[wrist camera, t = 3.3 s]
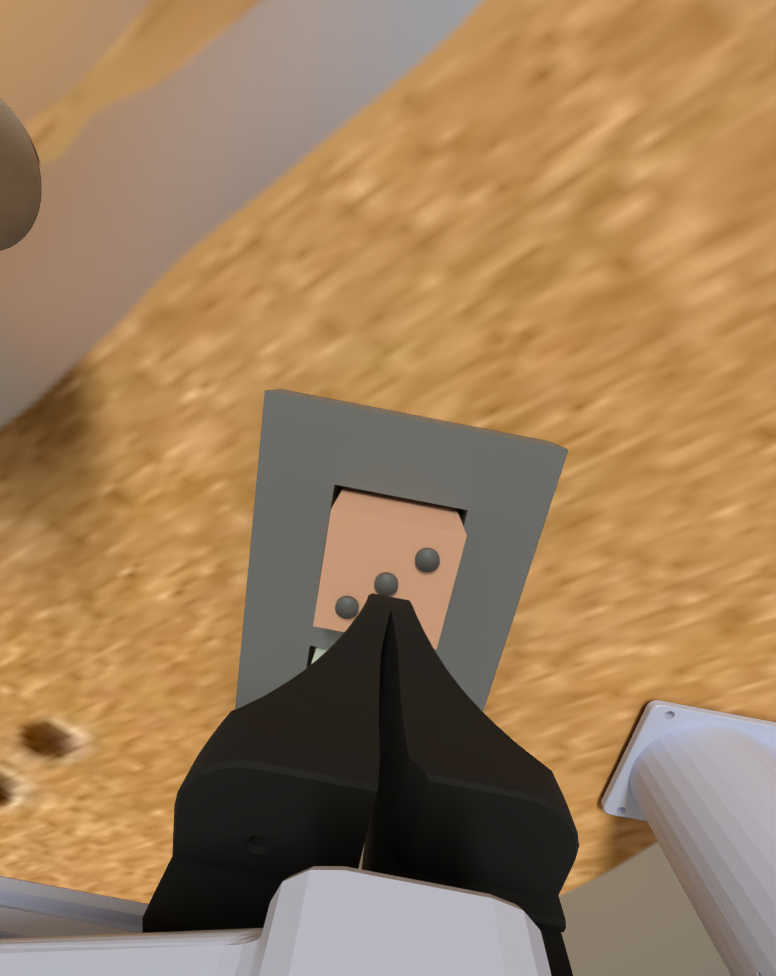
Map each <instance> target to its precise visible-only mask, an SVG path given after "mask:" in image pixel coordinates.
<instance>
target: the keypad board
mask: <svg viewBox="0 0 776 976" xmlns="http://www.w3.org/2000/svg"><path fill="white" fill-rule="evenodd" d="M567 452H568V449H566V448H564V447H561V446H559V445H557V444H554V443H552V442H550V441H545V440H539V439H534V438H529V437H524V436H519V435H514V434H509V433H504V432H498V431H493V430H488V429H483V428H478V427H473V426H468V425H462V424H457V423H452V422H447V421H442V420H437V419H432V418H427V417H421V416H416V415H411V414H406V413H401V412H396V411H391V410H385V409H380V408H375V407H370V406H365V405H360V404H355V403H349V402H344V401H339V400H334V399H329V398H324V397H319V396H314V395H308V394H303V393H298V392H293V391H288V390H283V389H278V390H266V391H265V396H264V407H263V417H262V428H261V439H260V450H259V460H258V471H257V482H256V493H255V503H254V514H253V525H252V536H251V546H250V557H249V568H248V579H247V589H246V600H245V611H244V622H243V632H242V643H241V654H240V665H239V675H238V686H237V697H236V707H235V709H238V708H240V707H242V706H244V705H246V704H248V703H250V702H253V701H255V700H257V699H259V698H261V697H263V696H265V695H266V694H268V693H270V692H272V691H273V690H275V689H276V688H278V687H280V686H281V685H283V684H284V683H286V682H288V681H289V680H291V679H292V678H294V677H295V676H297V675H298V674H299V673H301V672H302V671H303V670H305V669H306V668H307V667H308V666H310V665H311V663H312V660H313V654H314V648H315V647H320V648H325V649H329V648H330V647H331V646H332V645H333V644H334V643H335V642H336V641H337V640H338V639H339V638H340V637H341V635H342V634H343V633H344V632H341V631H336V630H331V629H325V628H320V627H315V626H313V623H314V616H315V610H316V603H317V597H318V590H319V584H320V577H321V571H322V564H323V558H324V551H325V545H326V538H327V532H328V525H329V519H330V512H331V508H332V507H333V505H334V503H335V501H336V500H337V498H338V496H339V490H340V486H345V487H350V488H355V489H361V490H366V491H371V492H376V493H381V494H386V495H392V496H397V497H402V498H407V499H412V500H418V501H423V502H428V503H433V504H438V505H444V506H449V507H454V508H458V510H457V511H458V514H459V517H460V519H461V522H462V524H463V527H464V529H465V532H466V534H467V537H466V541H465V545H464V548H463V552H462V556H461V560H460V563H459V567H458V571H457V575H456V578H455V582H454V586H453V590H452V593H451V597H450V601H449V605H448V608H447V612H446V616H445V620H444V623H443V627H442V631H441V635H440V638H439V642H438V646H437V649H434V650H435V651H436V653H437V655H438V656H439V658H440V659H441V661H442V663H443V664H444V666H445V667H446V669H447V670H448V672H449V673H450V674H451V676H452V677H453V678H454V679H455V681H456V682H457V683H458V685H459V686H460V687H461V688H462V690H463V691H464V692H465V693H466V694H467V695H468V697H469V698H470V699H471V700H472V701H473V702H474V703H475V704H476V705H477V706H478V707H479V708H480V710H481V711H482V712H483V710H484V707H485V704H486V701H487V698H488V695H489V692H490V688H491V685H492V682H493V679H494V676H495V673H496V670H497V667H498V664H499V661H500V658H501V655H502V652H503V649H504V646H505V642H506V639H507V636H508V633H509V630H510V627H511V624H512V621H513V618H514V615H515V612H516V609H517V606H518V603H519V600H520V596H521V593H522V590H523V587H524V584H525V581H526V578H527V575H528V572H529V569H530V566H531V563H532V560H533V557H534V554H535V550H536V547H537V544H538V541H539V538H540V535H541V532H542V529H543V526H544V523H545V520H546V517H547V514H548V511H549V508H550V504H551V501H552V498H553V495H554V492H555V489H556V486H557V483H558V480H559V477H560V474H561V471H562V468H563V465H564V462H565V458H566V455H567Z"/></svg>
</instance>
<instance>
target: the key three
mask: <svg viewBox="0 0 776 976" xmlns="http://www.w3.org/2000/svg"><path fill="white" fill-rule="evenodd" d="M466 537H467V534H466V532H465V529H464V527H463V524H462V522H461V519H460V517H459V514H458V511H457V509H456V508H454V507H449V506H444V505H438V504H433V503H428V502H423V501H418V500H412V499H407V498H402V497H397V496H392V495H386V494H381V493H376V492H371V491H366V490H361V489H355V488H350V487H345V486H344V487H343V489H342V491H341V493H340V494H339V496H338V498H337V500H336V501H335V503H334V505H333V507H332V508H331V512H330V519H329V525H328V532H327V538H326V545H325V551H324V558H323V564H322V571H321V577H320V584H319V590H318V597H317V603H316V610H315V616H314V623H313V626H315V627H320V628H325V629H331V630H336V631H341V632H345V631H346V630H347V629H348V627H349V626H350V625H351V624H352V622H353V621H354V620H355V618H356V617H357V616H358V614H359V613H360V611H361V609H362V608H363V606H364V604H365V602H366V600H367V598H368V595H370V594H372V593H374V594H379V595H384V596H390V597H395V598H400V599H405V600H410V602H411V603H412V605H413V608H414V610H415V613H416V615H417V617H418V619H419V621H420V624H421V626H422V628H423V630H424V632H425V634H426V635H427V637H428V639H429V641H430V643H431V644H432V646H433V648H434V649H437V646H438V642H439V638H440V635H441V631H442V627H443V623H444V620H445V616H446V612H447V608H448V605H449V601H450V597H451V593H452V590H453V586H454V582H455V578H456V575H457V571H458V567H459V563H460V560H461V556H462V552H463V548H464V545H465V541H466Z"/></svg>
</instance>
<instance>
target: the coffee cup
mask: <svg viewBox="0 0 776 976" xmlns="http://www.w3.org/2000/svg"><path fill="white" fill-rule="evenodd" d="M40 202H41V176H40V168H39V164H38V160H37V157H36V153H35V150H34V148H33V145H32V143H31V140H30V138H29V136H28V134H27V132H26V130H25V129H24V127H23V125H22V124H21V122H20V121H19V119H18V118H17V116H16V115H15V114H14V112H13V111H12V110H11V109H10V107H8V105H7V104H6V103H5V102H4V101H3V100H2V99H1V98H0V251H1V250H4V249H7V248H9V247H12V246H13V245H15V244H17V243H18V242H19V241H21V239H23V238H24V237H25V236H26V234H27V233H28V232H29V230H30V229H31V228H32V226H33V224H34V222H35V220H36V217H37V215H38V211H39V207H40Z"/></svg>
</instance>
